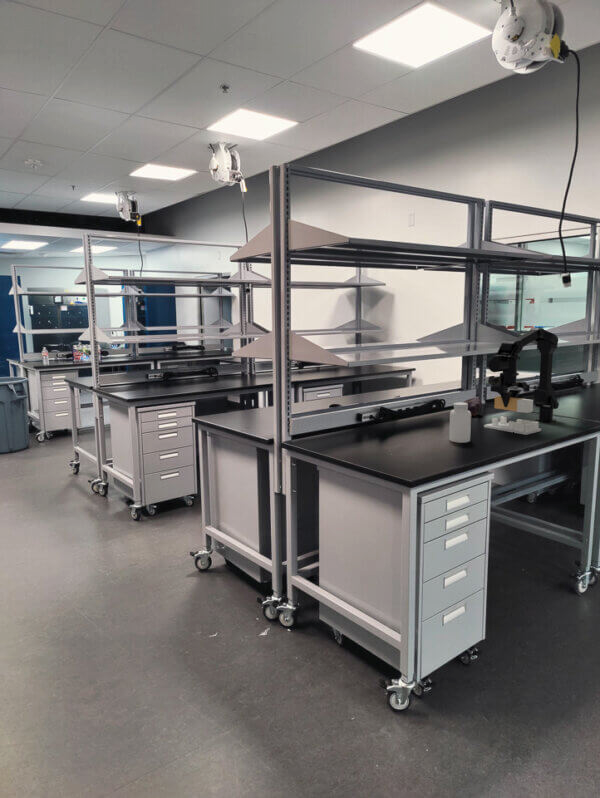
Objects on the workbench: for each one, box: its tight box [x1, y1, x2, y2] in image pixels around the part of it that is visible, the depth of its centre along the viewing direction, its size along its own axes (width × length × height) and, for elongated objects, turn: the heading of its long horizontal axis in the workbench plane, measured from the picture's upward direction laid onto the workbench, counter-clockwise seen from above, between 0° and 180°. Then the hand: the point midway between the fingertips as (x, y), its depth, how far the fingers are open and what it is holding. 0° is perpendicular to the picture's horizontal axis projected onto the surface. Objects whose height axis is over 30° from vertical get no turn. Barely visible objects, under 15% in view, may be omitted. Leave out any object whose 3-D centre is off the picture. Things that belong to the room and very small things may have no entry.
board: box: [483, 416, 542, 436], centre depth 231 cm, size 11×20×4 cm, turn 36°
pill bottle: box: [448, 401, 472, 444], centre depth 211 cm, size 8×8×15 cm
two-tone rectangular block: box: [494, 395, 534, 414], centre depth 230 cm, size 4×16×5 cm, turn 36°
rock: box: [462, 396, 483, 417], centre depth 263 cm, size 12×9×10 cm
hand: (508, 406), depth 232 cm, fingers closed on two-tone rectangular block, 3 cm apart
